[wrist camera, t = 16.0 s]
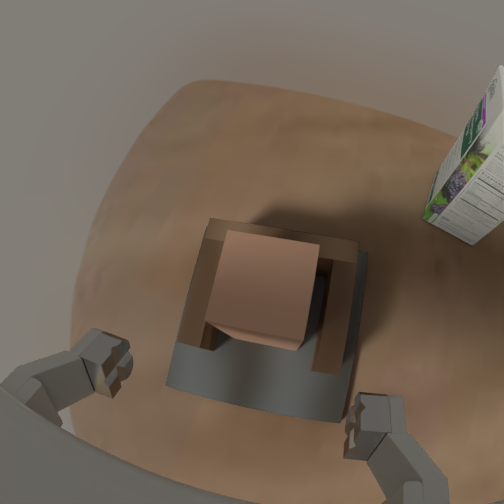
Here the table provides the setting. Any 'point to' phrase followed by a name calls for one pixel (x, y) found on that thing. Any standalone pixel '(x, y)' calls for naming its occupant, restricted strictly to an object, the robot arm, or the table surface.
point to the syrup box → (473, 173)
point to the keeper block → (263, 289)
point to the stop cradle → (269, 357)
